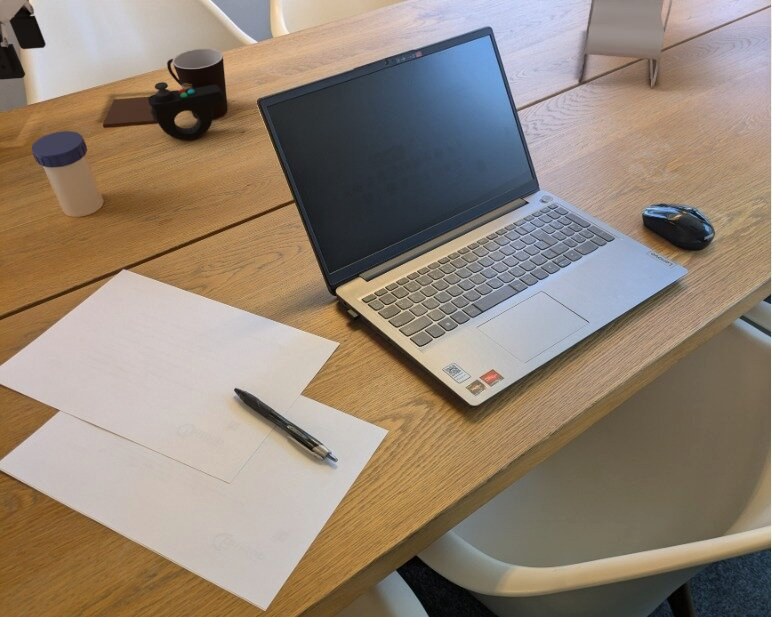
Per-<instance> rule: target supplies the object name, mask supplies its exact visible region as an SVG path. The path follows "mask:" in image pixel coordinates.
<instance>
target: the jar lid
mask: <svg viewBox="0 0 772 617" xmlns="http://www.w3.org/2000/svg"><path fill="white" fill-rule="evenodd" d="M31 152H32V155H33V158H34V160H35V162H36V163H37V164H38V165H39V166H42V167H43V166H44V167H51V168H52V167H62V166H66V165H69V164H72V163H74V162H76V161H78V160H80V159H81V158H83V157H84V156H85V154H86V155H87V153H88V148H87V144H86V141H85V139H84V137H83V135H81V133H79V132H77V131H71V130H64V131H56V132H51V133H49V134H46V135H44V136H41V137H40V138H38V139H36V141H34V142H33V144H32V145H31Z"/></svg>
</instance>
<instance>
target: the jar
mask: <svg viewBox="0 0 772 617" xmlns="http://www.w3.org/2000/svg"><path fill="white" fill-rule="evenodd" d="M42 167H43V170H44V173H45V175H46V177H47V179H48V182H49V183H50V184H49V185H50V186H51V188H52V191H53V193H54V195H55V197H56V199H57V202H58V204H59V207H60V209H61V210H62V213H63V214H64V215H65V216H66V217H67V216H68V217H70V218H72V217H73V218H80V217H81V218H82V217H85V216H89V215H92V214H94V213H96V212H97V211H99V210H100V209H101V208H102V207H103V205H104V202H105V199H104V198H103V195H102V192H101V190H100V188H99V185H98V182H97V180H96V177H95V174H94V171H93V169H92V166H91V164H90V162H89V159H88V156H87V153H86V154H85V156H84V157H83V158H81V159H80V160H78V161H76V162H74V163H72V164H69V165H66V166H62V167H52V168H51V167H44V166H42Z"/></svg>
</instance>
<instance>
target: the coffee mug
mask: <svg viewBox="0 0 772 617" xmlns="http://www.w3.org/2000/svg"><path fill="white" fill-rule="evenodd" d="M166 65H167V67H166V68H167V70H168V73H169V74H170V75H171V77H172V78H173V79H174V80H175V82H176V83H177V84H178V85H179V86H181V89H191V88H197V87H203V86H208V85H214V84H215V85H218V86H219V88H220V89H221V91H222V92H223V94H224V97H225V98H224V101H223V102H222V103H220V104H219V105H217V106H216V107H214V108H213V120H214V121H215V120H218V119H220V118H223V117H224V116H225V115H227V113H228V112H229V109H228V96H227V86H226V74H225V63H224V54H223V52H221V51H220V50H218V49H215V48H194V49H190V50H185V51H183V52H180V53H179V54H177V55H176V56H174V58H170V59H169V60H167V62H166ZM172 65H173V67H174V70H175V72H176V74H175V73H174V71H173V70H172ZM227 111H228V112H227ZM190 113H191V114H192V117H193V118H194V119H196V120H198V115H197V114H196V113H194V112H192V111H190ZM219 117H220V118H219Z"/></svg>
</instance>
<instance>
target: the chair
mask: <svg viewBox="0 0 772 617" xmlns="http://www.w3.org/2000/svg"><path fill="white" fill-rule="evenodd" d="M664 2H665V0H591V2H590V8H589V12H588V18H587V19H588V20H587V25H586V31H585V37H584V42H583V50H582V56H581V63H580V69H579V74H580V75H578V81H577V82H578V83H581V80H582V75H583V70H584V63H585V57H586V55H589V56H591V55H592V56H604V57H614V58H615V57H616V58H629V59H631V58H632V59H643V60H649V80H650V79H651V88H650V89H653V88H654V87H655V84H656V80H657V76H658V69H659V64H660V59H661V55H662V50H663V45H664V40H665V32H666V29H667V25H668V21H669V17H670V13H671V9H672V4H673V0H669V2H668V8H667V12H666V15H665V19H664V23H663V20H662V13H663V6H664ZM653 60H655V61H656V63H655V70H653V69H654V68H653V67H654V66H653V63H654V62H653Z"/></svg>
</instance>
